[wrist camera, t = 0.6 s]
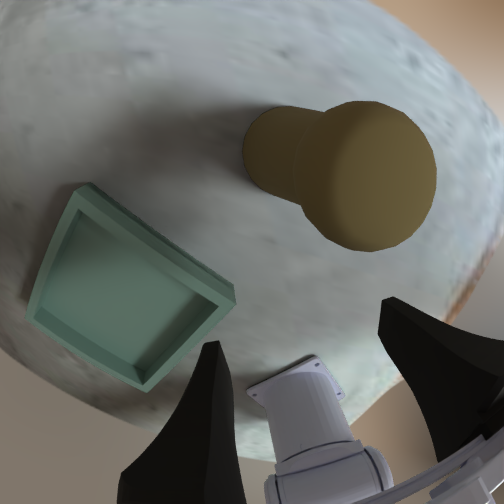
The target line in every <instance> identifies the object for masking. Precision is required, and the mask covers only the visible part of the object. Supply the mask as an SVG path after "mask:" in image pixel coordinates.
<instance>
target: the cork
mask: <svg viewBox="0 0 504 504" xmlns="http://www.w3.org/2000/svg"><path fill="white" fill-rule="evenodd" d="M242 153H243V159H244V165H245V168H246V170H247V172H248V174H249V176H250V178H251V179H252V180H253V181H254V182H255V183H256V184H257V185H258V186H259V187H260V188H261V189H262V190H264V191H266V192H268V193H270V194H272V195H274V196H277V197H280V198H282V199H285V200H288V201H291V202H293V203H296V204H299V205H301V207H302V209H303V212H304V214H305V216H306V217H307V219H308V220H309V221H310V222H311V223H312V224H313V225H314V226H315V227H316V228H317V229H318V231H319V232H320V233H321V234H322V235H323V236H324V237H325V238H327V239H329V240H331V241H333V242H334V243H336V244H338V245H340V246H342V247H344V248H347V249H350V250H354V251H364V252H374V251H379V250H383V249H387V248H390V247H394V246H397V245H398V244H400V243H401V242H403V241H405V240H406V239H408V238H409V237H411V236H412V235H413V233H414V232H415V231H416V230H417V229H418V228H419V227H420V226H421V224H422V223H423V221H424V220H425V218H426V216H427V214H428V212H429V210H430V208H431V206H432V202H433V198H434V195H435V191H436V174H437V168H436V164H435V159H434V155H433V150H432V148H431V146H430V144H429V142H428V141H427V139H426V137H425V135H424V133H423V132H422V131H421V130H420V128H419V127H418V126H417V125H416V124H415V123H414V122H413V121H412V120H411V119H410V118H409V117H408V116H407V115H406V114H405V113H403V112H401V111H399V110H396V109H394V108H392V107H390V106H387V105H385V104H382V103H379V102H376V101H352V102H346V103H344V104H341V105H339V106H336V107H334V108H331V109H329V110H327V111H325V112H321V111H316V110H310V109H305V108H299V107H293V106H286V107H276V108H274V109H271V110H269V111H267V112H265V113H263V114H262V115H260V116H259V117H258V118H257V119H256V120H255V121H254V122H253V123H252V124H251V126H250V128H249V130H248V132H247V134H246V135H245V138H244V144H243V150H242Z"/></svg>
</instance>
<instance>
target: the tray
mask: <svg viewBox="0 0 504 504" xmlns="http://www.w3.org/2000/svg"><path fill="white" fill-rule="evenodd" d="M235 305H236V299H235V292H234V285H233V284H232V283H230V282H229V281H227V280H226V279H224V278H223V277H221V276H220V275H218V274H217V273H215V272H214V271H212V270H211V269H209V268H208V267H207V266H205V265H204V264H202V263H201V262H199V261H198V260H196V259H195V258H194V257H192V256H191V255H189V254H188V253H186V252H185V251H183V250H182V249H181V248H179V247H178V246H176V245H175V244H174V243H172V242H171V241H169V240H168V239H167V238H165V237H164V236H162V235H161V234H160V233H158V232H157V231H155V230H154V229H153V228H151V227H150V226H148V225H147V224H146V223H144V222H143V221H142V220H140V219H139V218H137V217H136V216H135V215H133V214H132V213H131V212H129V211H128V210H127V209H125V208H124V207H123V206H121V205H120V204H119V203H117V202H116V201H115V200H113V199H112V198H111V197H109V196H108V195H107V194H105V193H104V192H103V191H101V190H100V189H99V188H97V187H96V186H95V185H93V184H92V183H91V182H89V183H87V184H85V185H84V186H82V187H80V188H78V189H76V190H74V192H73V194H72V196H71V198H70V200H69V202H68V204H67V206H66V208H65V210H64V212H63V214H62V216H61V218H60V220H59V223H58V225H57V227H56V229H55V232H54V234H53V236H52V239H51V241H50V243H49V246H48V248H47V251H46V253H45V256H44V259H43V261H42V264H41V267H40V269H39V272H38V275H37V278H36V281H35V284H34V287H33V290H32V293H31V297H30V300H29V303H28V307H27V310H26V314H25V319H26V320H27V321H29V322H30V323H31V324H33V325H34V326H35V327H37V328H38V329H39V330H41V331H42V332H43V333H45V334H46V335H47V336H49V337H50V338H52V339H53V340H55V341H56V342H58V343H59V344H61V345H62V346H63V347H65V348H67V349H68V350H70V351H71V352H73V353H74V354H76V355H77V356H79V357H81V358H82V359H84V360H86V361H87V362H89V363H91V364H92V365H94V366H96V367H97V368H99V369H101V370H103V371H104V372H106V373H108V374H110V375H112V376H114V377H115V378H117V379H119V380H121V381H123V382H125V383H127V384H129V385H131V386H133V387H135V388H137V389H139V390H141V391H143V392H145V393H148V392H149V391H150V390H151V389H152V388H153V387H154V386H155V385H156V384H157V383H158V382H159V381H160V380H161V379H162V378H163V377H164V376H165V375H166V374H167V373H168V372H169V371H170V370H171V369H172V368H173V367H174V366H175V365H176V364H177V363H178V362H180V361H181V360H182V359H183V358H184V357H185V356H186V355H187V354H188V353H189V352H190V351H191V350H192V349H193V348H194V347H195V346H196V345H197V344H198V343H199V342H200V341H201V340H202V339H203V338H204V337H205V336H206V335H207V334H208V333H209V332H210V331H211V330H212V329H213V328H214V327H215V326H216V325H217V324H218V322H219V321H220V320H221V319H222V318H223V317H224V316H225V315H226V314H227V313H228V312H229V311H230V310H231V309H232V308H233V307H234V306H235Z"/></svg>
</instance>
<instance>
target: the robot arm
mask: <svg viewBox="0 0 504 504" xmlns="http://www.w3.org/2000/svg"><path fill="white" fill-rule="evenodd" d="M378 336H379V338H380V340H381V342H382V344H383V346H384V348H385V350H386V352H387V353H388V355H389V356H390V358H391V359H392V361H393V362H394V364H395V365H396V367H397V368H398V370H399V371H400V373H401V374H402V376H403V377H404V379H405V380H406V382H407V383H408V385H409V387H410V388H411V390H412V391H413V393H414V396H415V398H416V400H417V402H418V404H419V406H420V409H421V411H422V414H423V416H424V418H425V421H426V424H427V426H428V429H429V432H430V435H431V438H432V442H433V445H434V449H435V453H436V457H437V461H438V464H436V465H434V466H433V467H431V468H429V469H428V470H426V471H424V472H422V473H420V474H418V475H416V476H414V477H412V478H410V479H409V480H407V481H404V482H402V483H400V484H398V485H396V486H394V484H393V478H392V474H391V471H390V468H389V466H388V464H387V461H386V460H385V458H384V456H383V455H382V454H381V452H380V451H379V450H377V449H375V448H373V447H371V446H366V447H363V446H362V443H361V441H360V440H356V441H355V440H354V437H353V435H352V432H351V430H350V427H349V425H348V423H347V420H346V418H345V415H344V413H343V411H342V408H341V406H340V404H339V400H341V399H343V398H344V397H345V393H344V392H343V390H342V389H341V388H340V386H339V385H338V383H337V382H336V381H335V379H334V378H333V376H332V375H331V374H330V372H329V371H328V369H327V368H326V367H325V365H324V364H323V362H322V361H321V360H320V358H319V357H318V356H314V357H311V358H310V359H308V360H306V361H304V362H302V363H300V364H298V365H296V366H294V367H292V368H290V369H288V370H286V371H284V372H282V373H280V374H278V375H276V376H274V377H272V378H270V379H268V380H266V381H264V382H262V383H259V384H257V385H255V386H253V387H251V388H249V389H247V395H249V396H250V397H251V398H252V399H254V400H255V401H256V402H257V403H259V404H260V405H261V406H262V407H264V408H265V409H266V414H267V419H268V424H269V428H270V433H271V438H272V443H273V447H274V452H275V457H276V461H277V464H275V470H276V474H271V475H269V476H268V479H267V480H266V481H265V483H264V492H265V499H266V504H395V503H396V502H398V501H400V500H402V499H404V498H406V497H408V496H410V495H412V494H414V493H416V492H418V491H420V490H421V489H423V488H425V487H427V486H429V485H431V484H432V483H434V482H436V481H437V480H439V479H441V478H442V477H444V476H446V475H447V474H449V473H450V472H452V471H453V470H455V469H457V468H458V467H460V466H461V467H460V470H458V471H457V472H455V473H454V474H453V475H451V476H450V477H448V478H447V479H446V480H445V481H444V482H442V483H441V484H440V485H439V486H437V487H436V488H435V489H433V490H431V491H430V493H429V494H430V496H431V498H432V500H430V501H428V502H426V503H425V504H496V503H495V501H494V499H493V497H492V495H491V492H493V491H494V490H495V489H496V488H497V487H498V486H499V485H500V484H501V483H502V482H503V481H504V341H503V340H496V339H491V338H487V337H483V336H479V335H475V334H472V333H469V332H466V331H463V330H460V329H458V328H455V327H453V326H451V325H448V324H446V323H444V322H442V321H440V320H438V319H436V318H434V317H432V316H430V315H428V314H426V313H424V312H422V311H420V310H418V309H416V308H415V307H413V306H411V305H409V304H407V303H405V302H403V301H401V300H400V299H398V298H395V297H390V298H387V299H383V300H382V303H381V312H380V320H379V327H378ZM117 504H247V503H246V498H245V494H244V489H243V484H242V479H241V474H240V468H239V463H238V457H237V451H236V444H235V430H234V402H233V388H232V382H231V375H230V371H229V368H228V365H227V362H226V359H225V356H224V353H223V350H222V348H221V345H220V342H219V340H218V341H213V342H207V343H204V344H203V346H202V350H201V353H200V356H199V359H198V362H197V364H196V367H195V370H194V372H193V374H192V377H191V379H190V382H189V384H188V386H187V388H186V390H185V392H184V394H183V396H182V398H181V400H180V402H179V404H178V406H177V407H176V409H175V411H174V412H173V414H172V416H171V417H170V419H169V420H168V422H167V423H166V425H165V426H164V427H163V429H162V430H161V432H160V433H159V434H158V436H157V437H156V438H155V439H154V441H153V442H152V443H151V444H150V445H149V446H148V447H147V449H146V450H145V451H144V452H143V453H142V454H141V455H140V456H139V457H138V458H137V459H136V460H135V461H134V462H133V463H132V464H131V465H130V466H128V467H127V468H126V469H125V470H124V471H123V472H122V473H121V476H120V480H119V484H118V494H117Z"/></svg>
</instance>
